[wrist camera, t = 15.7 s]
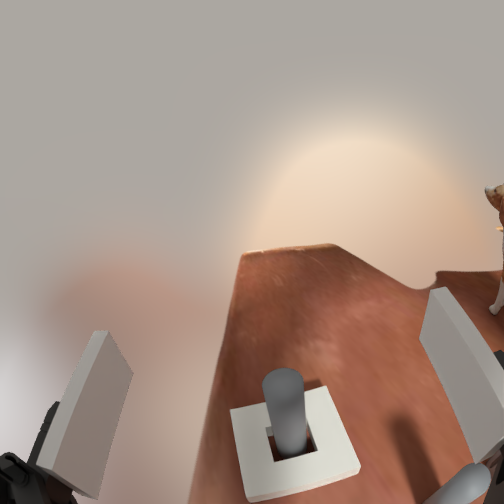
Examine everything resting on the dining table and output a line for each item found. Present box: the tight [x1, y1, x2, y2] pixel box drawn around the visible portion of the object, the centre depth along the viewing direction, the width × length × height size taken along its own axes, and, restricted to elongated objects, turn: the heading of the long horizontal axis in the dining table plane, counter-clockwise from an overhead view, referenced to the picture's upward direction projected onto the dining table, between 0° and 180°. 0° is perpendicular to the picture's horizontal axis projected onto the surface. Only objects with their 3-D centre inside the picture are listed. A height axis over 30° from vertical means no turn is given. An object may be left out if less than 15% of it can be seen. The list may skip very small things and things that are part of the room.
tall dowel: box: [262, 368, 307, 460], centre depth 32 cm, size 4×4×16 cm
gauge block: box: [230, 386, 361, 503], centre depth 35 cm, size 14×14×3 cm
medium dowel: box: [422, 463, 491, 504], centre depth 19 cm, size 4×4×12 cm
